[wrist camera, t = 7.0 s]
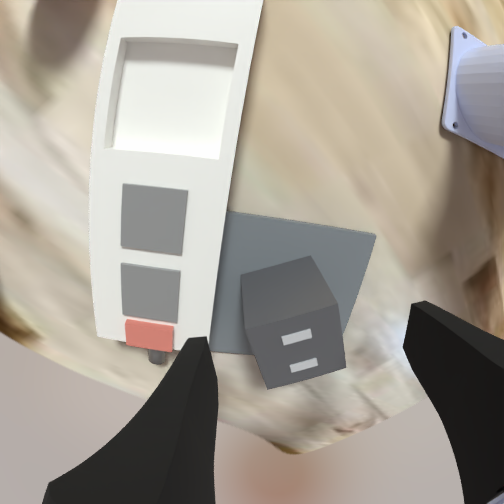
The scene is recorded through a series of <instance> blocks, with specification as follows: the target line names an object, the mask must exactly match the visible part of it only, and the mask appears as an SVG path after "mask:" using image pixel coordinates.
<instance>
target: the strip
mask: <svg viewBox="0 0 504 504" xmlns="http://www.w3.org/2000/svg"><path fill="white" fill-rule="evenodd" d="M262 4H263V0H118V1H117V4H116V8H115V12H114V15H113V19H112V23H111V27H110V31H109V35H108V40H107V44H106V49H105V54H104V59H103V64H102V69H101V75H100V81H99V87H98V93H97V100H96V108H95V116H94V125H93V134H92V146H91V159H90V178H89V251H90V269H91V283H92V295H93V305H94V314H95V322H96V330H97V336H98V337H103V338H108V339H113V340H118V341H124V342H126V345H129V346H135V347H141V348H147V349H148V356H149V361H150V362H151V363H153V364H162V363H163V362H164V361H165V351H166V352H172V349H174V350H181V349H182V347H183V345H184V343H185V342H186V340H187V339H188V338H192V337H203V336H207V340H208V344H209V336H210V328H211V319H212V311H213V303H214V295H215V288H216V280H217V272H218V265H219V257H220V250H221V243H222V236H223V229H224V222H225V215H226V208H227V202H228V195H229V189H230V182H231V176H232V169H233V163H234V157H235V151H236V145H237V139H238V133H239V127H240V121H241V115H242V109H243V103H244V98H245V92H246V87H247V81H248V76H249V70H250V65H251V59H252V54H253V49H254V44H255V39H256V33H257V28H258V23H259V18H260V14H261V9H262Z"/></svg>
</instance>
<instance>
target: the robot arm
mask: <svg viewBox="0 0 504 504" xmlns="http://www.w3.org/2000/svg"><path fill="white" fill-rule="evenodd" d="M462 34H463V36H464V38H463V36H462ZM453 123H454V124H455V127H454V128H453ZM442 126H443V127H444V129H446V130H448V131H450V132H452V133H454V134H456V135H458V136H461V137H463V138H465V139H467V140H469V141H471V142H473V143H475V144H477V145H479V146H481V147H483V148H485V149H486V150H488V151H490V152H492V153H494V154H496V155H498V156H499V157H501V158H503V159H504V44H498V45H490V46H487V45H486V44H485V43H483V42H482V41H480V40H479V39H477V38H476V37H474V36H473V35H471V34H470V33H468V32H467V31H465V30H464V29H462V28H460V27H458V26H455V27H452V29H451V47H450V60H449V71H448V80H447V88H446V96H445V103H444V110H443V116H442ZM403 349H404V351H405V354H406V356H407V359H408V361H409V363H410V366H411V368H412V370H413V372H414V373H415V375H416V377H417V378H418V380H419V382H420V383H421V385H422V387H423V388H424V390H425V392H426V393H427V395H428V397H429V398H430V400H431V402H432V404H433V405H434V407H435V409H436V411H437V412H438V414H439V416H440V418H441V420H442V423H443V425H444V428H445V430H446V433H447V435H448V438H449V440H450V443H451V446H452V449H453V452H454V455H455V459H456V462H457V467H458V470H459V475H460V479H461V484H462V490H463V496H464V503H465V504H504V340H503V339H500V338H498V337H496V336H494V335H492V334H489V333H487V332H485V331H483V330H481V329H479V328H477V327H475V326H473V325H471V324H470V323H468V322H466V321H464V320H462V319H460V318H458V317H456V316H455V315H453V314H451V313H449V312H447V311H445V310H443V309H442V308H440V307H438V306H436V305H434V304H431V303H429V302H427V301H422V302H417V303H413V304H411V309H410V315H409V320H408V325H407V330H406V335H405V339H404V344H403ZM217 415H218V382H217V376H216V372H215V368H214V364H213V360H212V356H211V352H210V348H209V344H208V340H207V336H203V337H192V338H188V339H187V340H186V342H185V343H184V345H183V347H182V349H181V350H180V352H179V354H178V355H177V357H176V359H175V361H174V362H173V364H172V365H171V367H170V369H169V370H168V372H167V373H166V375H165V376H164V378H163V379H162V381H161V382H160V384H159V385H158V387H157V388H156V389H155V391H154V392H153V393H152V395H151V396H150V397H149V399H148V400H147V402H146V403H145V404H144V405H143V407H142V408H141V409H140V410H139V411H138V413H137V414H136V415H135V416H134V417H133V418H132V419H131V420H130V421H129V423H128V424H127V425H126V426H125V427H124V428H123V429H122V430H121V431H120V432H119V433H118V434H117V435H116V436H115V437H114V438H112V439H111V440H110V441H109V442H108V443H107V444H106V445H105V446H104V447H102V448H101V449H100V450H98V451H97V452H96V453H95V454H93V455H92V456H91V457H89V458H88V459H87V460H85V461H84V462H82V463H81V464H80V465H78V466H77V467H75V468H74V469H72V470H70V471H68V472H67V473H65V474H63V475H62V476H60V477H58V478H57V479H55V480H53V481H51V482H49V484H48V486H47V490H46V492H45V495H44V499H43V502H42V504H215V491H214V490H215V489H214V452H215V440H216V439H215V438H216V426H217Z"/></svg>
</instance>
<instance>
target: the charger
mask: <svg viewBox="0 0 504 504" xmlns="http://www.w3.org/2000/svg"><path fill="white" fill-rule="evenodd" d="M241 286H242V299H243V311H244V323H245V331H246V334H247V336H248V339H249V342H250V344H251V347H252V350H253V353H254V355H255V358H256V361H257V363H258V366H259V369H260V371H261V374H262V376H263V379H264V382H265V384H266V387H267V390H268V389H272V388H276V387H280V386H284V385H288V384H292V383H296V382H299V381H303V380H307V379H310V378H314V377H317V376H321V375H324V374H327V373H331V372H334V371H337V370H340V369H344V368H346V361H345V352H344V344H343V336H342V328H341V321H340V313H339V306H338V303H337V301H336V299H335V297H334V295H333V294H332V292H331V290H330V288H329V286H328V285H327V283H326V281H325V279H324V278H323V276H322V274H321V272H320V270H319V269H318V267H317V265H316V264H315V262H314V260H313V258H312V257H311V255H310V256H306V257H303V258H299V259H296V260H292V261H288V262H285V263H281V264H278V265H274V266H270V267H267V268H263V269H260V270H256V271H252V272H249V273H245V274H241Z"/></svg>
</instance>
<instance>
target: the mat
mask: <svg viewBox="0 0 504 504" xmlns="http://www.w3.org/2000/svg"><path fill="white" fill-rule="evenodd" d="M375 239H376V235H375V234H372V233H367V232H361V231H355V230H349V229H343V228H337V227H331V226H325V225H319V224H313V223H307V222H300V221H294V220H287V219H281V218H274V217H267V216H260V215H253V214H246V213H239V212H231V211H226V215H225V222H224V229H223V236H222V243H221V250H220V257H219V265H218V272H217V280H216V288H215V295H214V303H213V311H212V319H211V328H210V336H209V348H210V351H216V352H226V353H237V354H248V355H254V353H253V350H252V347H251V344H250V342H249V339H248V336H247V334H246V331H245V323H244V311H243V299H242V286H241V274H245V273H249V272H252V271H256V270H260V269H263V268H267V267H270V266H274V265H278V264H281V263H285V262H288V261H292V260H296V259H299V258H303V257H306V256H310V255H311V257H312V258H313V260H314V262H315V264H316V265H317V267H318V269H319V270H320V272H321V274H322V276H323V278H324V279H325V281H326V283H327V285H328V286H329V288H330V290H331V292H332V294H333V295H334V297H335V299H336V301H337V303H338V306H339V313H340V321H341V328H342V336H343V333H344V330H345V328H346V325H347V323H348V320H349V317H350V314H351V312H352V309H353V306H354V304H355V301H356V298H357V295H358V292H359V289H360V286H361V283H362V280H363V278H364V275H365V271H366V268H367V265H368V262H369V259H370V256H371V253H372V249H373V246H374V243H375Z"/></svg>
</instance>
